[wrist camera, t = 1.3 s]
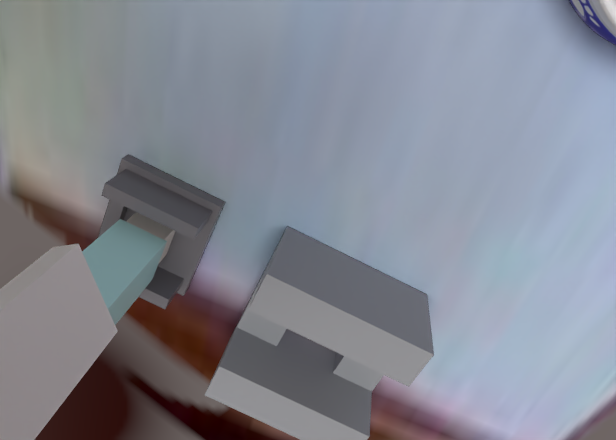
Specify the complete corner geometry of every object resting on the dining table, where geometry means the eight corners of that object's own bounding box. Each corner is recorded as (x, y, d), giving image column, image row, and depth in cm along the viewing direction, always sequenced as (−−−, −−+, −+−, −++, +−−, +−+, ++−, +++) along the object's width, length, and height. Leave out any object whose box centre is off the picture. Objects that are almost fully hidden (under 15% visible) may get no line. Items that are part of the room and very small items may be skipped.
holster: (99, 247, 42) (72, 272, 38) (128, 154, 38) (100, 172, 34) (187, 289, 42) (168, 317, 38) (225, 202, 38) (207, 224, 34)
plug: (127, 239, 40) (28, 334, 29) (139, 202, 38) (39, 288, 27) (168, 259, 40) (86, 361, 29) (182, 223, 38) (100, 317, 27)
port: (229, 339, 44) (202, 399, 37) (287, 226, 38) (266, 273, 32) (352, 397, 44) (346, 466, 38) (427, 294, 39) (433, 354, 32)
